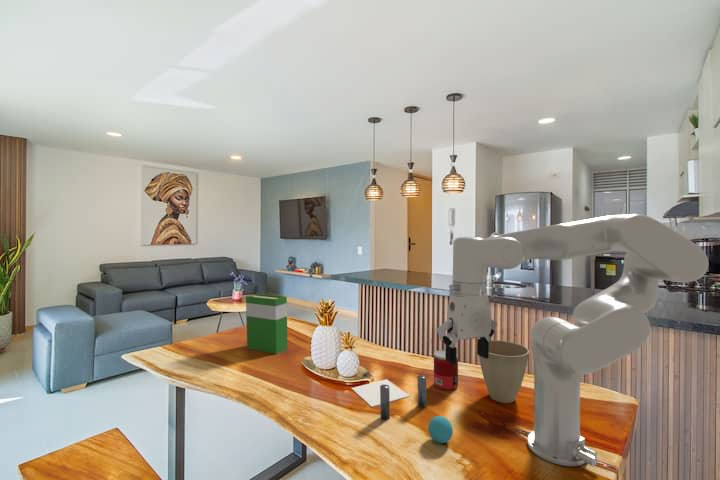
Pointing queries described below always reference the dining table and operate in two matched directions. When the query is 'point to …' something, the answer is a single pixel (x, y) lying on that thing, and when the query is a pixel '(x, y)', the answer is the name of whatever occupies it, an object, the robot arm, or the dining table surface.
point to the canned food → (445, 372)
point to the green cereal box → (267, 323)
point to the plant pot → (504, 369)
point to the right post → (422, 392)
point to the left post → (384, 402)
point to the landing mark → (378, 392)
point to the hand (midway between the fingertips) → (467, 359)
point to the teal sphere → (440, 429)
